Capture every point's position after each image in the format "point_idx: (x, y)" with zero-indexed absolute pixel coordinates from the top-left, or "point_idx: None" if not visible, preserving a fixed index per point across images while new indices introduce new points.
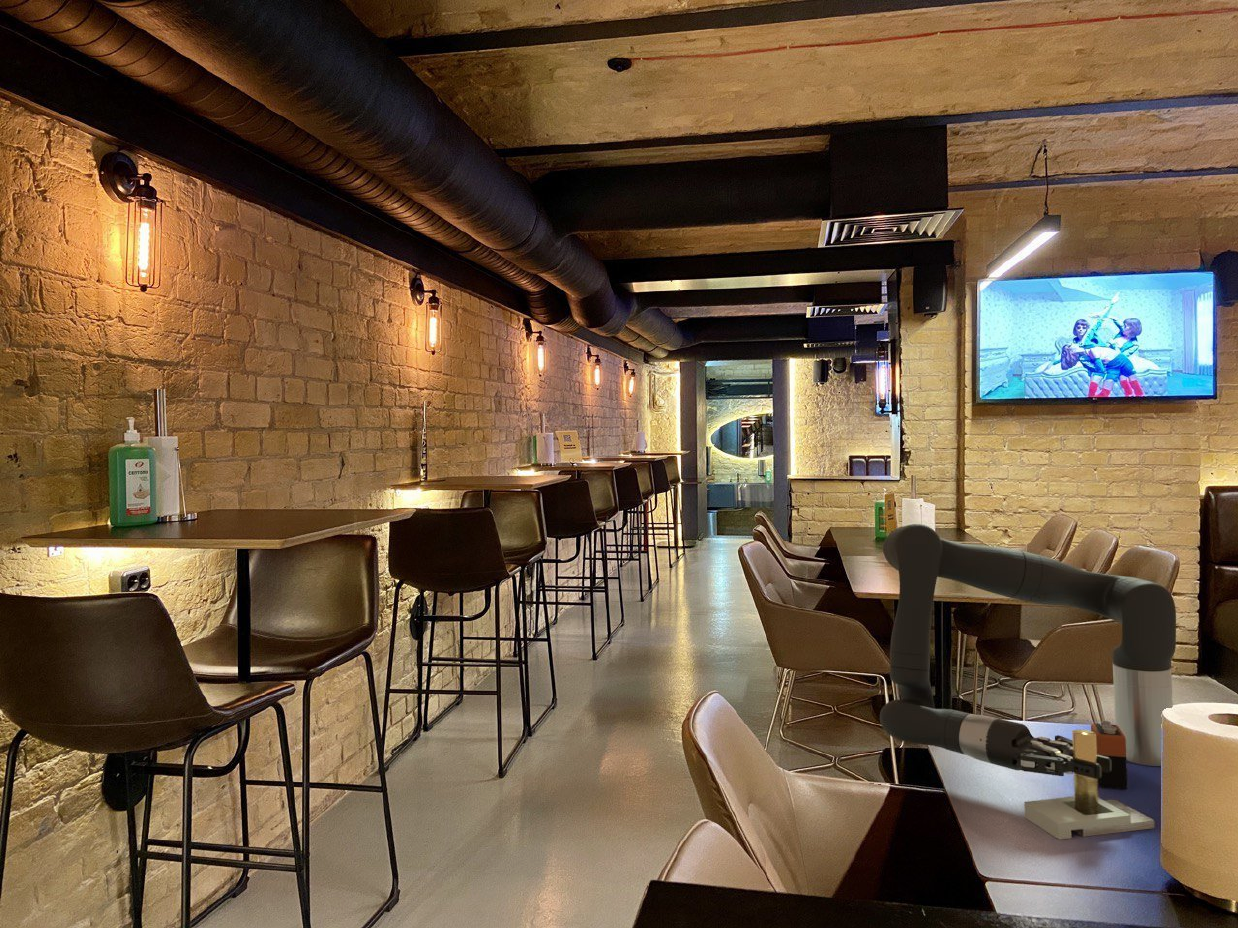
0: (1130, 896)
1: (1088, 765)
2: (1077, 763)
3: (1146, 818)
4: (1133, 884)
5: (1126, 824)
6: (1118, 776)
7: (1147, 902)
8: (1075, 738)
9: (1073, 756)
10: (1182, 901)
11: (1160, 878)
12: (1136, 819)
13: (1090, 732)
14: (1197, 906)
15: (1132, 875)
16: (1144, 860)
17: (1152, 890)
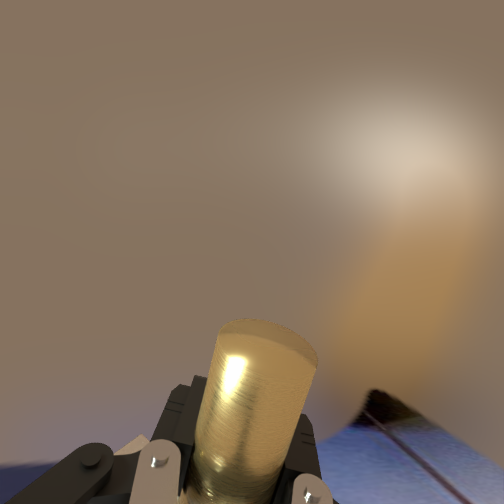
0: (440, 464)
1: (300, 429)
2: (311, 465)
3: (138, 447)
4: (404, 463)
5: None
6: None
7: (429, 444)
8: (306, 390)
9: (267, 481)
10: (380, 411)
11: (347, 432)
12: None
13: (241, 330)
14: (375, 399)
15: (379, 467)
16: None
17: (392, 440)
